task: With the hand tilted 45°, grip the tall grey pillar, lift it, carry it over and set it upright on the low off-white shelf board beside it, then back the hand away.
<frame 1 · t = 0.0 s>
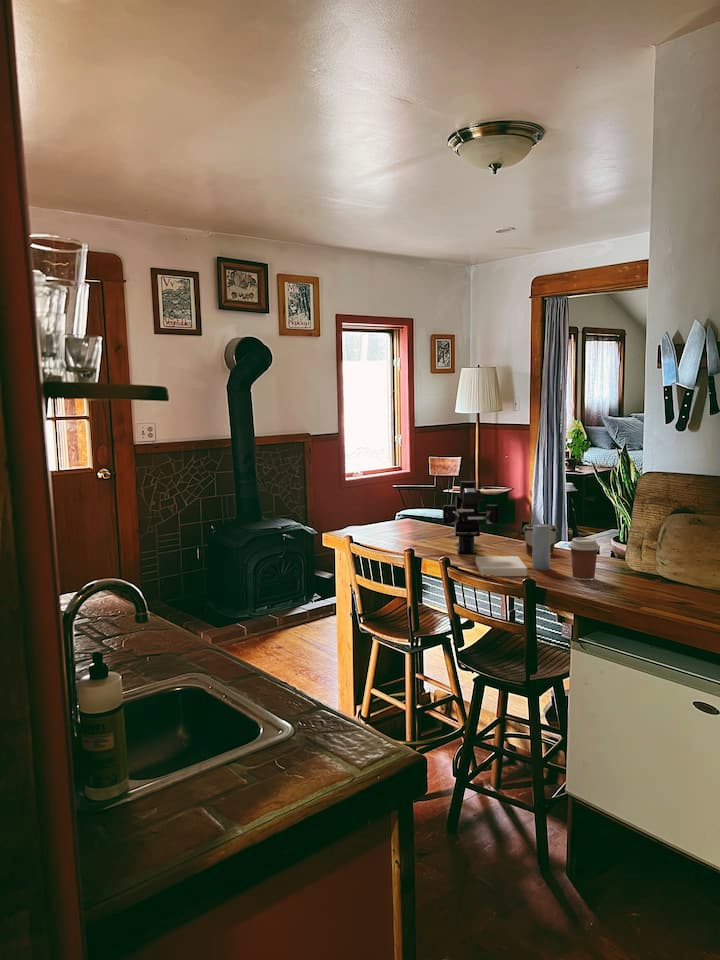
hand: (473, 518, 231), 17 cm above the counter, tool horizontal, fingers open, 9 cm apart
grey pillar: (541, 568, 230), on the counter
food container: (538, 552, 256), on the counter
shelf board: (500, 569, 229), on the counter
coffee cup: (583, 579, 216), on the counter
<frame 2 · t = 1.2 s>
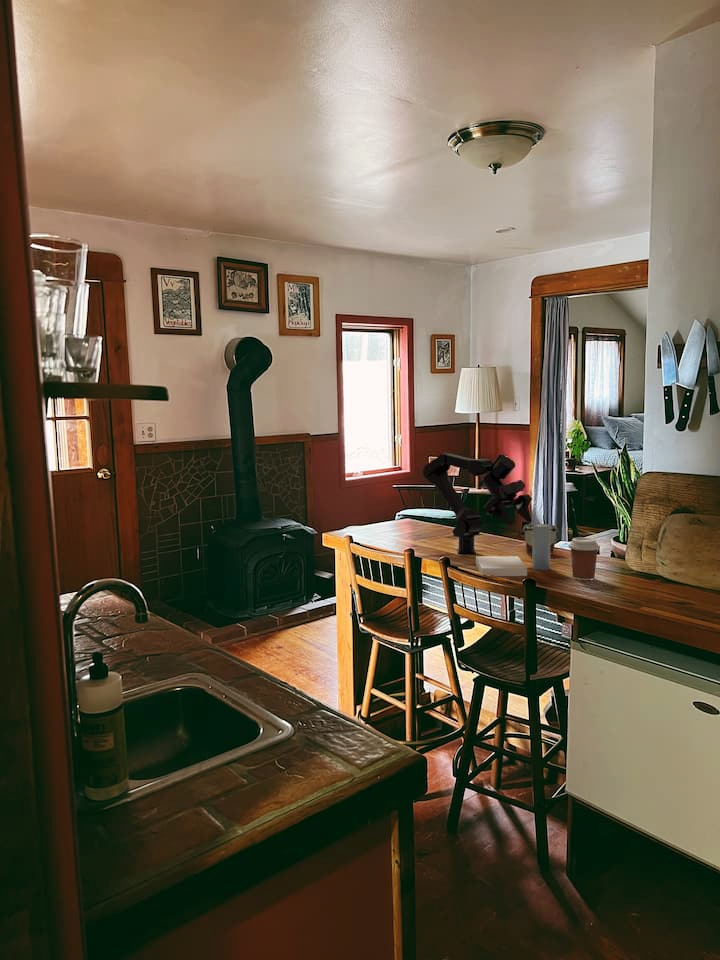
hand: (521, 523, 235), 14 cm above the counter, tool tilted 45°, fingers open, 9 cm apart
nothing on the counter moved.
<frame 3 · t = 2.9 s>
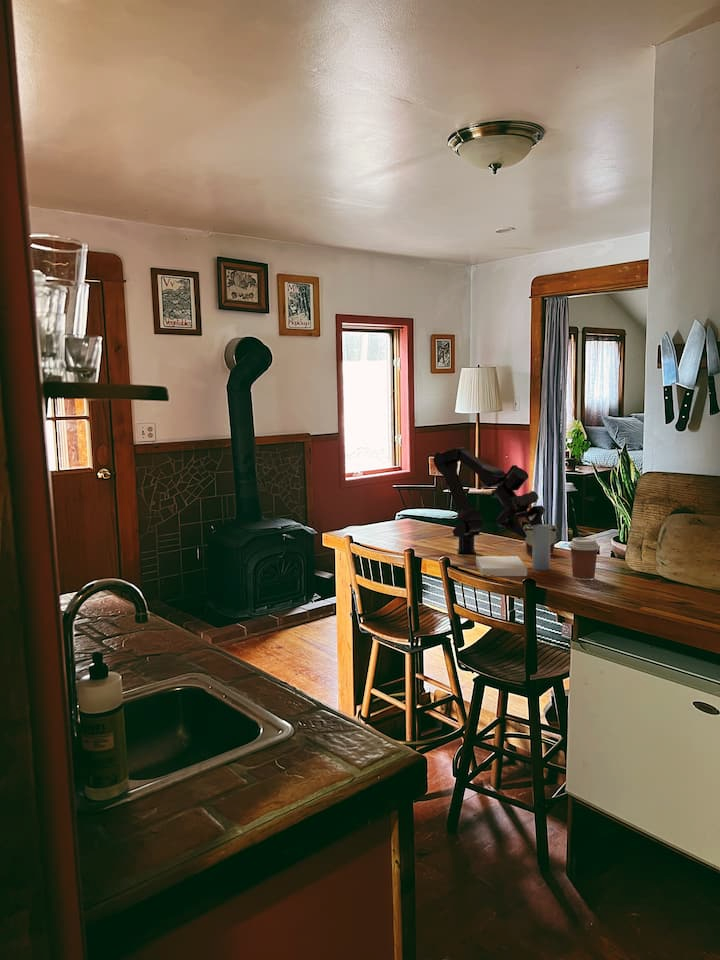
hand: (535, 535, 231), 10 cm above the counter, tool tilted 45°, fingers open, 9 cm apart
nothing on the counter moved.
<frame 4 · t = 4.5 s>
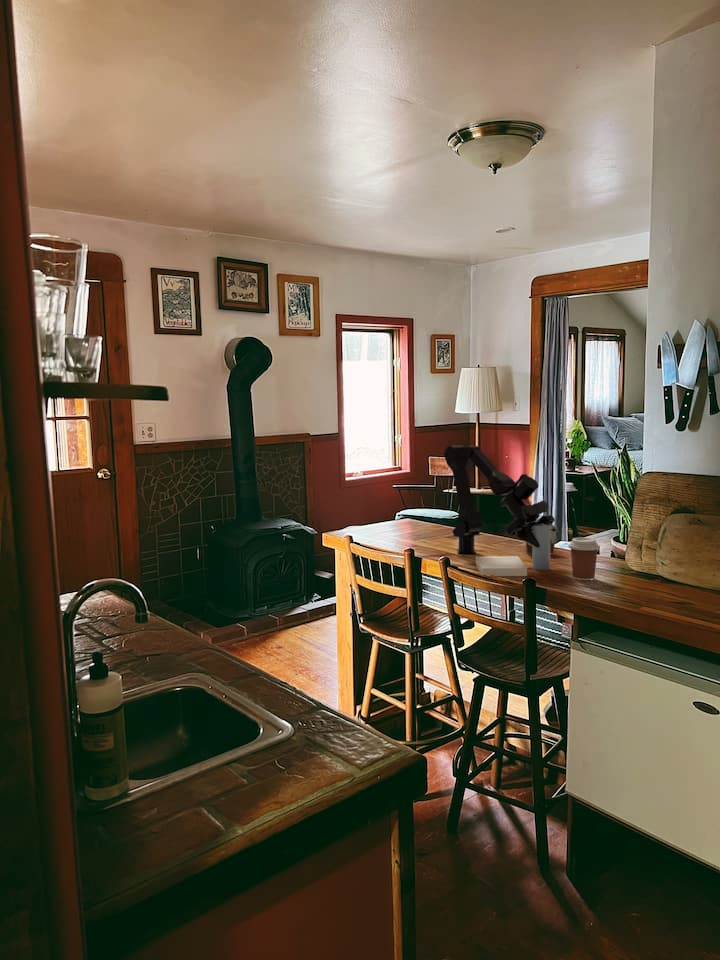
hand: (544, 545, 228), 8 cm above the counter, tool tilted 45°, fingers closed on grey pillar, 6 cm apart
grey pillar: (541, 568, 230), on the counter, touching gripper
everything else where it was.
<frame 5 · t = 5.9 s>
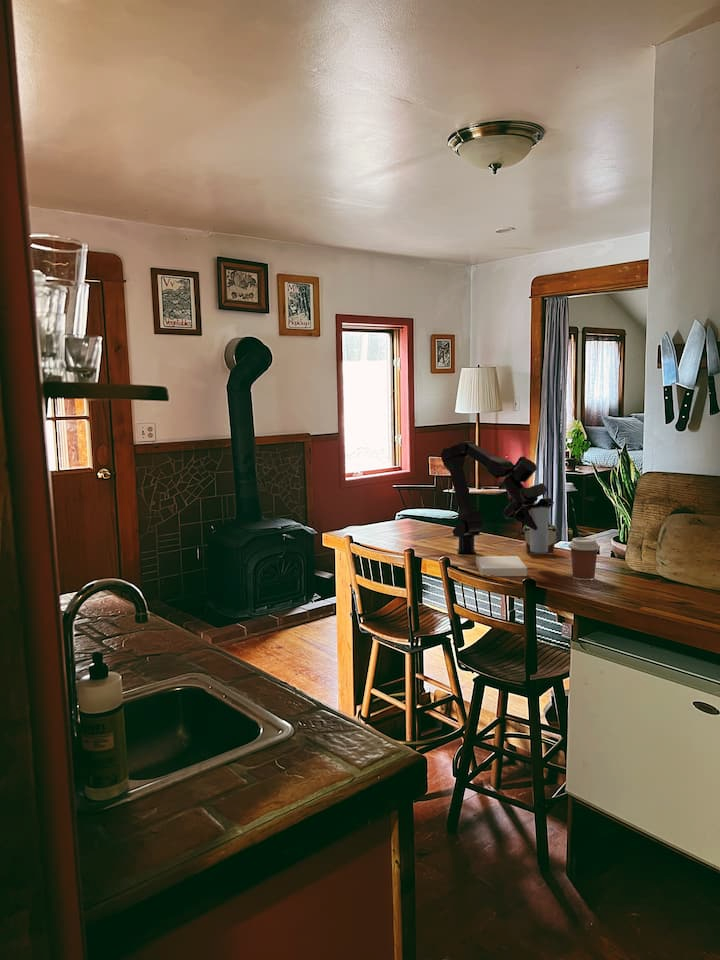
hand: (542, 528, 227), 13 cm above the counter, tool tilted 45°, fingers closed on grey pillar, 6 cm apart
grey pillar: (539, 551, 229), point 6 cm above the counter, touching gripper
everything else where it was.
when the fingers open (11 cm above the counter, at t = 7.8 s): grey pillar stays where it is, resting on shelf board.
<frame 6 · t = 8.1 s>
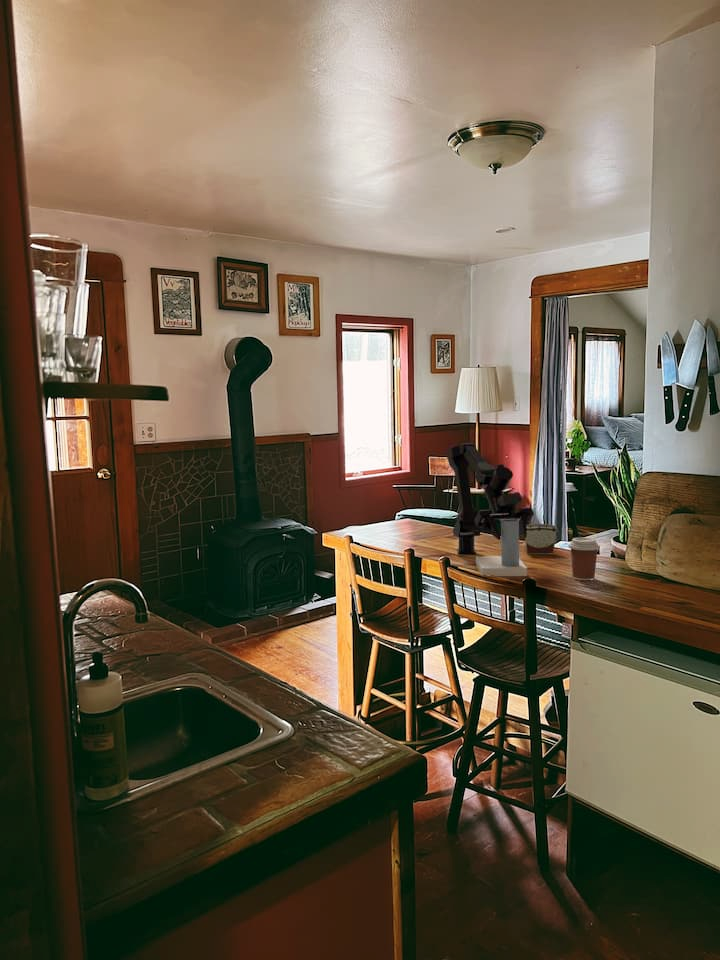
hand: (512, 538, 222), 11 cm above the counter, tool tilted 45°, fingers open, 9 cm apart
grey pillar: (510, 564, 225), point 3 cm above the counter, touching shelf board
everything else where it was.
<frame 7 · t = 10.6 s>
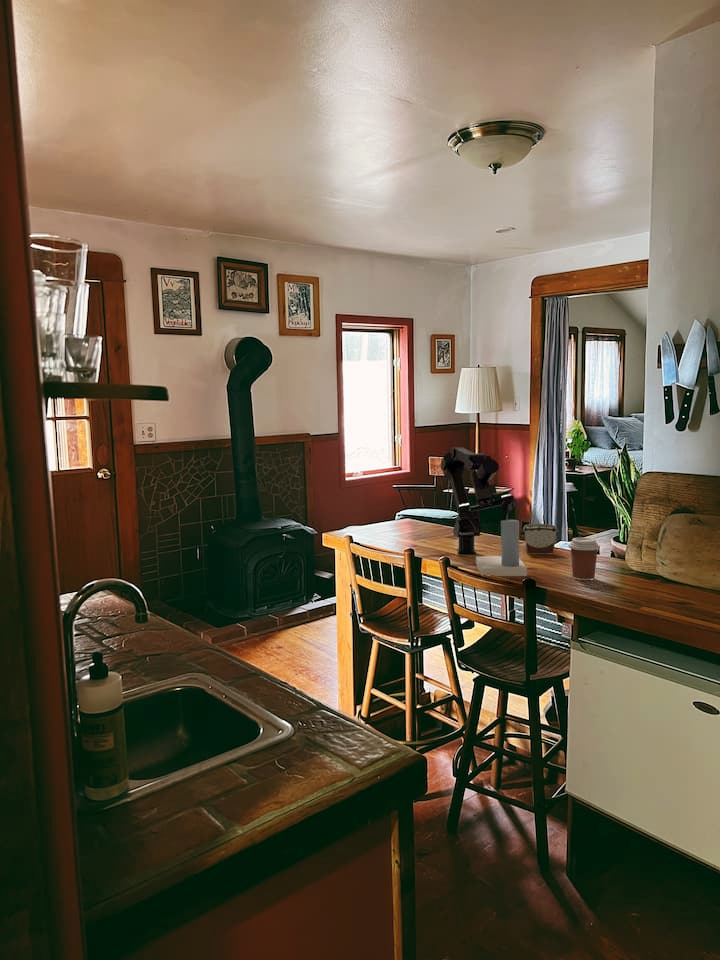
hand: (491, 529, 233), 12 cm above the counter, tool tilted 30°, fingers open, 9 cm apart
nothing on the counter moved.
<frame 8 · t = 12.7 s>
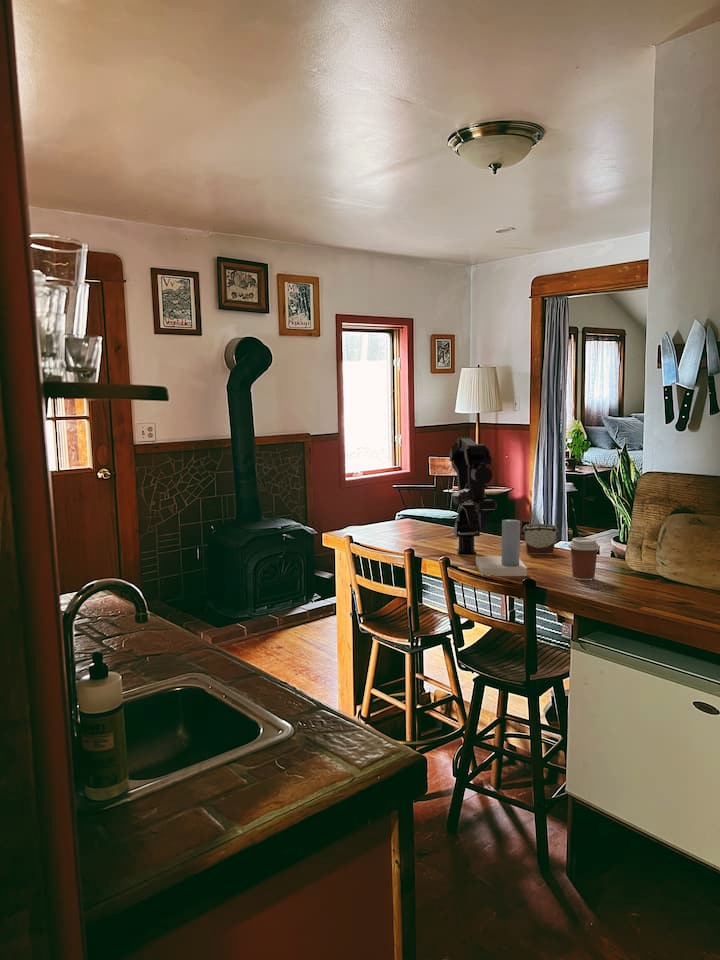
hand: (476, 527, 240), 12 cm above the counter, tool pointing down, fingers open, 9 cm apart
nothing on the counter moved.
at the end: grey pillar inside the target area on the shelf board (4.9 cm from its centre), point 2.6 cm above the shelf board's base; grey pillar tilted 2°; the gripper is holding nothing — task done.
